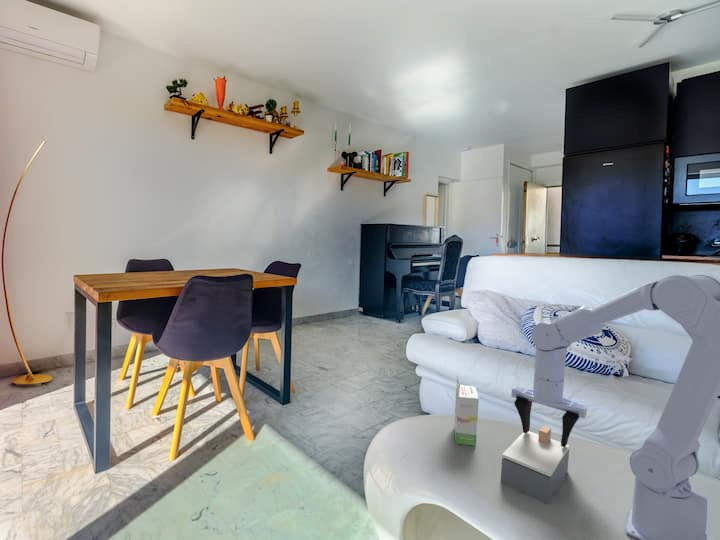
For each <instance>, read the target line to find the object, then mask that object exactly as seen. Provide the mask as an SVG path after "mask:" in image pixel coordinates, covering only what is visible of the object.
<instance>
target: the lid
mask: <svg viewBox="0 0 720 540" xmlns="http://www.w3.org/2000/svg"><path fill="white" fill-rule="evenodd" d="M551 435H552V428H551V427H549V426H545V425H542V426H541V428H540V429H539V430H538V433H536V432H532V431H530V430H529V431H528V432H527V433H523V432H522V433H521V434H520V435H519V436H518V437H517V438H516V439H515V440H514V441H513V442H512V444H510V446H508V448H506V450H505V451H504V452H503V453H502V454H501V458H506V459H508V460H511V461H513V462H515V463H518V464H520V465H523V466H525V467H528V468H530V469H532V470H535V471H537V472H540V473H542V474H544V475H547V476H549V477H551V476H552V474H553V473H554V471H555V470H556V468H557V466H558V465H559V463H560V462H561V460H562V459H563V457H564V455H565V454H566V452H567V451H568V449H569V450H570V445H569V444H567V445H566V446H565V447H562V446H561V441H558V440H555V439H554V438H553V439H552V438H551Z"/></svg>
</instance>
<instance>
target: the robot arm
mask: <svg viewBox="0 0 720 540" xmlns="http://www.w3.org/2000/svg"><path fill="white" fill-rule="evenodd" d="M644 310H645V311H647V310H648V311H661V312H662V313H664V314H665V315H666V316H668V317H669V318H671V319H672V320H673V321H675V322H676V323H678V325H680V326H681V327H682V328H683V330H684V331H685V333H686V334H687V335H688V336H689V338H691V341H692V342H691V344H690V347H689V350H688V352H687V354H686V356H685V358H684V361H683V363H682V366H681V368H680V370H679V372H678V376H677V378H676V380H675V383H673V387H672V390H671V392H670V394H669V397H668V399H667V402H665V403H666V404H665V407H664V408H663V410H662V413H661V416H660V418H659V420H658V423H657V425H656V426H655V427H654V429H653V430H652V431H651V432H650V434H648V435H647V437H646V438H645V440H644V442H643V445H641V447H639V448H637V449H636V450H634V451H633V452H632V453H631V454H630V457H629V466H630V467H629V468H631V472H632V473H633V475H634V484H633V485H634V486H633V498H632V507H630V511H629V513H628V514H629V516H628V519H627V523H626V527H625V533H626V534H628V535H629V536H632V538H633V537H634V538H636V539H638V540H707V539H708V535H707V534H706V531H707V519H708V499H707V498H706V497H704V496H702V495H699V494H698V493H696V492H695V491H692V486H691V483H690V477H693V476H694V475H696V474H697V473H698V471H699V469H700V461H699V457H698V455H699V450H700V447H701V443H700V442H699V438H700V436H701V433H702V431H703V430H704V427H705V425H706V423H707V420H708V419H709V417H710V414H711V412H712V410H713V408H714V405H715V403H716V401H717V399H718V397H719V394H720V281H719V280H718V279H716V278H715V277H712V276H710V275H705V274H694V275H682V274H681V275H680V274H673V275H668V276H665V277H663V278H661V279H659V280H655V281H651V282H647V283H645V284H642V285H641V286H637V287H635V288H634V289H632V290H630V291H627V292H626V293H623V294H621V295H620V296H617V297H615V298H613V299H611V300H608V301H607V302H604V303H603V304H601V305H599V306H597V307H595V308H593V307H590V306H587V305H583V306H581V305H575V306H573V307H570V312H567V313H565V314H562V315H560V316H559V315H555V316H553V317H552V318H551V322H545V321H544V322H542V321H540V322H538V323H537V324H536V325H535V326H534V327H533V328H532V330H531V334H530V336H531V337H530V338H531V341H532V344H533V345H534V346H535V347H536V348H535V359H534V361H535V363H534V371H533V373H534V376H533V388H532V389H530V388H529V389H528V388H522V387H519V386H513V387H512V388H511V396H510V397H512V398H515V400H514V406H515V409H516V410H517V412H518V415H519V418H520V423H521V426H522V433H527V432H528V431H530V429H531V428H530V427H531V413H532V412H531V411H532V404H533V403H535V404H539V405H542V406H545V407H549V408H552V409H555V410H559V411H561V412H565V413H564V414H563V415H562V416H561V420H562V431H561V432H562V434H561V440H560V442H561V446H562V447H565V446H566V445H568V441H569V437H570V434H571V432H572V430H573V428H574V426H575V425H576V423H577V421H578V420H579V419H580V418H582V419H586V417H587V410H588V406H586V405H584V404H580V403H578V402H575V401H572V400H570V399H567V398H565V397H564V384H565V374H566V360H567V359H566V357H567V355H568V349H569V347H571V346H572V344H575V343H577V342H580V341H582V340H584V339H587V338H590V337H593V336H595V335H598V334H600V333H602V332H603V329H604V326H605V324H608V323H610V322H613V321H615V320H619V319H621V318H624V317H627V316H630V315H633V314H635V313H638V312H641V311H644Z"/></svg>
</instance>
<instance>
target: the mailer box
mask: <svg viewBox="0 0 720 540" xmlns="http://www.w3.org/2000/svg"><path fill="white" fill-rule="evenodd" d="M569 456H570V448H569V449H568V451H567V452H566V454H565V455H564V457H563V459H562V460H561V462H560V463H559V465H558V466H557V468H556V470H555V471H554V473H553V474H552V476H551V477H549V476H547V475H544V474H542V473H540V472H537V471H535V470H532V469H530V468H528V467H525V466H523V465H520V464H518V463H515V462H513V461H511V460H508V459H506V458H503V457H501V468H500V470H501V471H500V483H501V484H503V485H506V486H508V487H510V488H513V489H515V490H517V491H519V492H521V493H523V494H525V495H528V496H530V497H531V498H534V499H536V500H538V501H541V502H543V503H545V504H547V505H549V504H550V503H551V501H552V499H553V498H554V496H555V494H556V492H557V490H558V488H559V487H560V485H561V484H562V482H563V480H564V478H565V477H566V475H567V473H568V469H569Z"/></svg>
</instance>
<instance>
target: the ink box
mask: <svg viewBox="0 0 720 540" xmlns="http://www.w3.org/2000/svg"><path fill="white" fill-rule="evenodd" d="M456 377H457V378H456V389H455V391H456V392H455V406H454V420H453V421H454V423H453V430H454V438H455V444H457V445H465V446H470V445H471V446H472V447H476V446H477V431H478V416H479V415H478V414H479V403H480V401H479V400H480V399H479V394H478V391H477V387H476V386H473V385H466V384H465V385H464V384H461V380H460V377H459V374H457V376H456Z"/></svg>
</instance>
